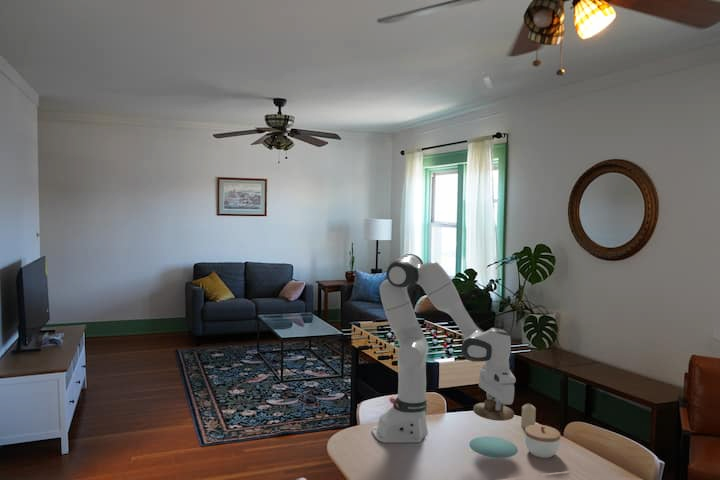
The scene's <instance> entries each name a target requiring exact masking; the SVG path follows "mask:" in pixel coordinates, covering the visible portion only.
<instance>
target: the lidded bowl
mask: <svg viewBox="0 0 720 480" xmlns="http://www.w3.org/2000/svg"><path fill="white" fill-rule="evenodd" d="M524 440H525V445H526V448H527V450H528V452H530V453H531V454H532V455H533V456H534V457H537V458H542V459H550V458H551V457H553V456H555V455H556V453H557V452H558V450H559V446H560V443H561V432H560V431H559V430H558V429H556V428H554V427H552V426H548V425H544V424H535V425H529V426H527V427H526V428H524Z"/></svg>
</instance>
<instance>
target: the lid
mask: <svg viewBox="0 0 720 480" xmlns="http://www.w3.org/2000/svg"><path fill="white" fill-rule="evenodd" d="M494 404H496V399H495V398H493V399H490V400H488V399H484V402H479V403H476V404H475V405H473V413H474V414H475V415H476V416H478V417H481V418H483V419H486V420H490V421H499V422H500V421H509V420H513V418H514V417H515V411H514V410H513V409H512V408H510V407H508V406H506V405H504V404H501V406H500V410H495V409H494Z"/></svg>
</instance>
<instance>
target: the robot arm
mask: <svg viewBox="0 0 720 480" xmlns="http://www.w3.org/2000/svg"><path fill="white" fill-rule="evenodd" d="M423 262H424V261H423V260H422V259H421V258H420V256H419V255H416V254H413V253H408V254H404V255H402V256H399V257H397V258H396V259H395V260H393V261H392V262H391V263H390V264H389V265H388V267H387V270H386V279H384V280H383V281H382V282H381V283H380V285H379V289H378V290H379V295H380V300H381V303H382V307H383V310H384V313H385V316H386V319H387V322H388V324H389V327H390V329H391V331H392V332H393V334H394V337H396V340H397V343H398V344H399V347H398V350H397V371H398V372H397V375H398V386H397V390H398V391H397V397H396V398H394V397H393V396H391V397H390V398H389V402H390V403H392V406H391V408H389V409H388V410H386V411H385V412H384V413H383V414H381V415H380V416H379V419H378V424H377V425H375V426H373V427H372V429H371V430H372V431H371V432H372V433H371V434H372V435H373V436H374V438H375V439H377V440H378V441H380V442H381V443H384V444H385V443H386V444H388V443H389V444H390V443H391V444H392V443H395V444H397V443H398V444H401V443H402V444H403V443H407V444H408V443H421V442H423V439H425V438H426V437H427V436H428V435H429V431H428V426H427V415H426V413H427V407H428V405H427V398H426V397H427V396H426V395H427V394H426V393H427V366H426V365H427V355H428V351H429V343H428V341H427V338H426V336H425V333H424V331H423V329H422V327H421V325H420V322H419V321H418V319H417V316H416V314H415V310H414V307H413V305H412V302H411V299H410V296H409V292H408V288H409V287H412V286H416V284H417V285H419V286H420V287H421V288H422V289H423V291H424V293H425V294H426V296H427V298H428V299H429V301H430V303H431V304H432V305H433V307H434V308H435V309H436V310H438V311H440V312H443V313H446V314H448V315H449V316H450V317H451V319H452V320H453V321H454V322H455V324H456V326H457V327H458V329H459V331H460V332H461V334H462V337H463V341H462V344H461V345H460V346H461V348H460V350H461V354H462V356H463V358H465V359H466V360H467V361H469V362H485V363H484V364H483V366H482V367H481V370H480V372H479V376H478V387H479V388H480V389H482V391H485V392H486V393H485V394H486V400H490V399H496V404H494V409H495V410H500V406H501V404H504V406H506V405H512V404H513V402H514V399H515V384H516V380H517V379H516V377H515V375H514V374H513V373H512V370H511V369H510V356H511V350H512V349H511V347H512V346H511V345H512V344H511V343H512V341H511V340H512V339H511V335H510V334H509V333H508V331H506V330H505V329H502V328H498V327H491V328H489V329H488V330H486V331H484V330H483V329H481V327H479V326H478V325H477V324H476V323H475V321H474V320H473V318H472V317H471V316H470V313H469V312H468V310H467V309H466V307H465V306H464V304H463V301H462V299H461V297H460V295H459V292H458V290H457V287H456V286H455V284H454V282H453V281H452V279H451V277H450V276H449V274H448V273H447V271H446V270H445V269H444V268H443V267H442V266H441V265H440V263H439V262H437V261H434V260H431V261H429V260H428V261H427V262H425V263H423Z"/></svg>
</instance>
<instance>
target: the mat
mask: <svg viewBox="0 0 720 480" xmlns="http://www.w3.org/2000/svg"><path fill="white" fill-rule="evenodd" d="M469 448H470V449H471V450H472V451H473V452H476V453H478V454H479V455H482V456H486V457H489V458H496V459H497V458H498V459H503V458H504V459H505V458H511V457H513V456H516V454H517V453H518V451H519V449H518V447H517V446H516V444H514V443H513V442H512V441H510V440H507V439H504V438H500V437H495V436H479V437H475V438H473V439H471V440H470V441H469Z"/></svg>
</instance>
